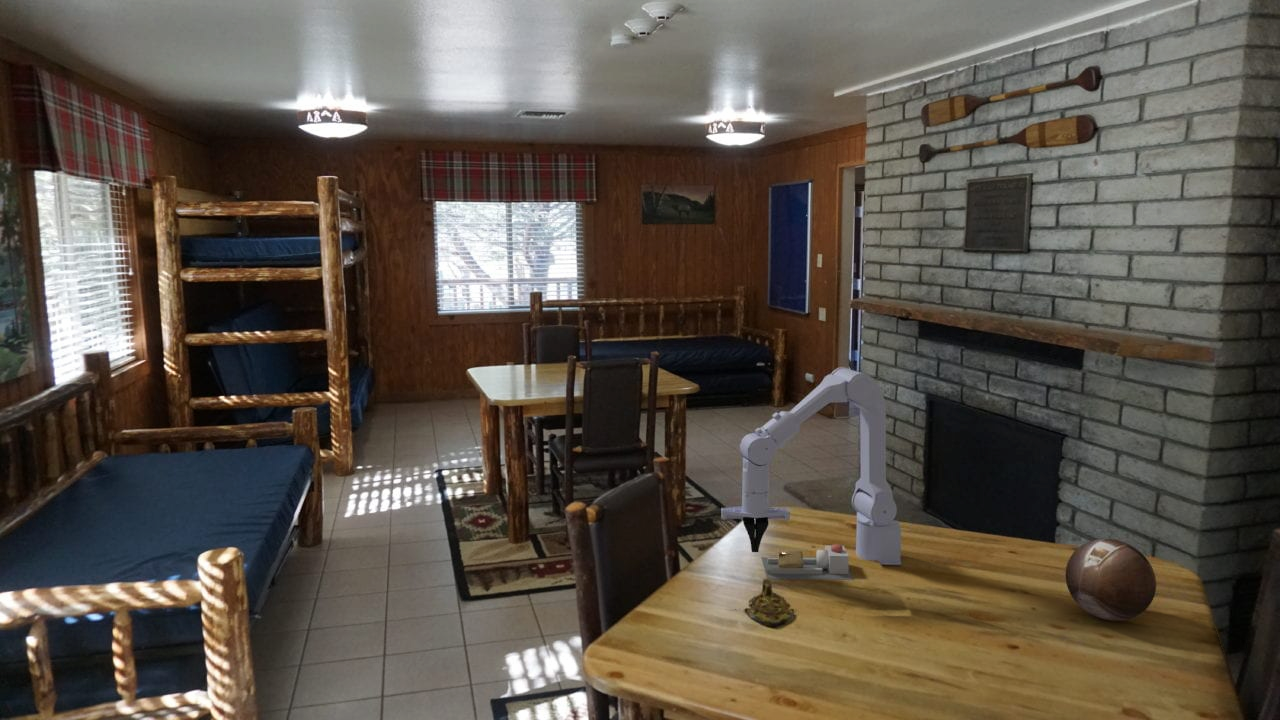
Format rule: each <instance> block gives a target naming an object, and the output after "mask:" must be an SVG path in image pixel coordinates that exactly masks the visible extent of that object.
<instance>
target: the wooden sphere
mask: <svg viewBox="0 0 1280 720" xmlns="http://www.w3.org/2000/svg"><path fill="white" fill-rule="evenodd" d="M1140 551H1141V550H1139V549H1137V548H1136V547H1134V546H1132V545H1131V544H1129V543H1126V542H1124V541H1121V540H1118V539H1112V538H1099V539H1094V540H1090V541H1087V542H1085V543H1083V544H1081V545H1080V546H1079V547H1078V548H1076V550H1074V551H1073V553H1071V556H1070V557H1069V559H1068V561H1067V563H1066V566H1065V567H1066V568H1065V583H1066V587H1067V589H1068V592H1069V594H1070V596H1071V597H1072V599H1073V600H1074V601H1075V603H1076V604H1077V605H1078V606H1079V607H1080V608H1081V609H1083V610H1084V611H1085V612H1087V613H1088V614H1090V615H1092V616H1094V617H1097V618H1099V619H1102V620H1106V621H1114V622H1116V621H1117V622H1118V621H1126V620H1130V619H1133V618H1135V617H1138V616H1139V615H1141V614H1142V613H1144V612H1145V611H1146V610H1147V609H1148V608H1149V606H1150V605H1151V604H1152V602H1153V601H1154V598H1155V595H1156V591H1157V579H1156V573H1155V571H1154V568H1153V567H1152V565H1151V563H1150V561H1149V560H1148V558H1147V557H1146V556H1145V555H1144V554H1143V553H1142V552H1140Z"/></svg>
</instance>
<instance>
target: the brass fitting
mask: <svg viewBox="0 0 1280 720" xmlns="http://www.w3.org/2000/svg"><path fill="white" fill-rule="evenodd" d="M777 557H778V568H803V557H804V553H803V551H802V550H777Z"/></svg>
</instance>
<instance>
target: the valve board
mask: <svg viewBox="0 0 1280 720" xmlns="http://www.w3.org/2000/svg"><path fill="white" fill-rule="evenodd" d="M815 556H816V557H806V556H805V557H804V556H803V568H778V556H776V557H775V556H773V557H772V556H768V557H767V556H762V557H761V561H762V565H763V568H764V573H765V577H766V579H769V580H803V581H807V580H808V581H809V580H811V581H812V580H814V581H815V580H817V581H819V580H820V581H821V580H822V581H824V580H825V581H826V580H827V581H833V580H835V581H847V580H848V581H854V577H853V575H852V574H851V571H850V570H849V566H850V565H849V564H850V563H849V561H850V560H849V559H850V555H849V553H848V551H847V550H846V548H845V546H844V545H842V544H839V543H835V544H834V543H833V544H831V545H824V549H817V550H816V555H815Z"/></svg>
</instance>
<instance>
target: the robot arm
mask: <svg viewBox="0 0 1280 720" xmlns="http://www.w3.org/2000/svg"><path fill="white" fill-rule="evenodd" d="M848 401H850V402H851V403H852V404H853V405H854V406H855V407H856V408H858V409H859V412H860V414H859V417H860V418H859V419H860V420H859V421H860V422H859V425H860V432H859V433H860V439H859V441H860V453H859V454H860V478H859V479H858V480H857V481H856V482H855V487H854V492H853V494H852V496H851V505H852V508H853V509H854V511H856V533H855V555H856V557H858V558H859V559H862V560H865V561H871V562H872V561H873V562H878V563H879V565H880V566H901V565H902V562H901V551H902V550H901V549H902V529H901V525H900V522H899V520H894V519H895V518H896V515H897V513H898V512H897V511H898V510H897V509H898V508H897V504H896V502H895V500H894V492H893V489H892V488H891V487H890V485H889V483H888V481H887V462H886V461H887V455H886V454H887V433H886V432H887V430H886V429H887V403H886V399H885V397H884V396H883V394H882V392H881V391H880V389H879V386H878V381H877V380H876V379H875V378H873V377H872V376H870V374H868V373H864V372H859V371H856V370H853V369H851V368H849V367H846V366H840V367H837V368H836V369H834V370H833V371H832V372H831V373H829V374H827V375H825V376H824V377H823V380H822V381H821V382H820V383H819V384H818V385H817V386H816V387H815V388H814V389H813V390H812V391H810V392H809V394H807V395H806V396H805V397H804V398H803V399H802V400H801V401H800V402H799V403H797V405H795V406H794V407H793V408H792V409H791V410H789V411H784V410H781V411H780V412H779V413H778V412H774V413H773V414H772V415H771V417H772V418H771V419H770V420H768V421H767V422H766V423H765V424H764V425H762V426H761V427H757V428H756V429H755V430H754V431H755V432H752V433H748V434H746V435H744V437H743V438H742V439H741V442H740V443H739V445H737V446H738V447H737V448H738V451H739V454H740V455H741V457H742V473H741V474H742V476H741V477H742V482H741V483H742V484H741V485H742V487H741V488H742V489H741V490H742V492H741V494H742V495H741V496H742V497H741V506H733V507H721V510H720V511H721V512H720V513H721V515H720V516H721V520H727V519H742V522H743V527H744V528H745V531H746V533H747V535H748V538H749V542H750V549H751V553H759V551H760V546H761V542H762V539H763V537H764V534H765V532H766V531H767V529H768V527H769V525H770V524H769V520H770V519H771V520H772V519H773V520H785V521H790V519H791V510H790V508H784V507H772V506H770V462H772V461H773V459H774V457H775V455H776V451H778V449H779V448H781V447H782V446H783V445H784V444H785V443H787V442H789V440H791V439H792V438H793V437H795V436H796V435H797V434H798V433H799V432H800V425H801V423H803V422H805V421H806V420H808V419H809V418H810V417H812V416H813V415H815V414H816V413H817V412H819V411H820V410H822V409H823V408H824V407H825V406H827V405H828V404H830V403H847V402H848Z"/></svg>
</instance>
